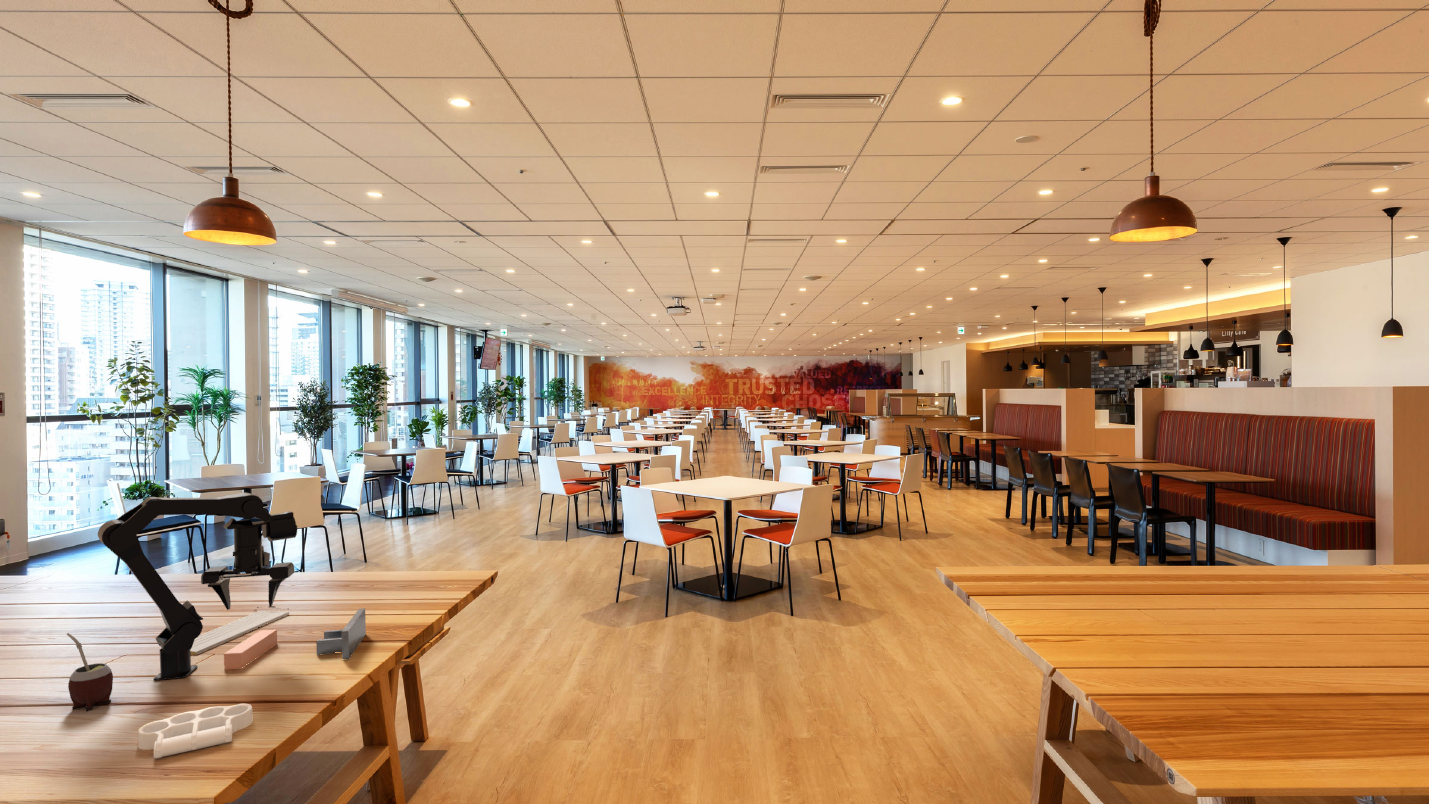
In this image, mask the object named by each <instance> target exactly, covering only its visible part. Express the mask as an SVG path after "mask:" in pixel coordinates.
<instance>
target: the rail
mask: <svg viewBox="0 0 1429 804" xmlns="http://www.w3.org/2000/svg"><path fill="white" fill-rule="evenodd" d="M277 630H278V629H261V630H258V631H257V632H256V633H254V634H252V635H251V636H249V637H248V638H245V639H244V640H243V641H241V642H240V643H237V644H236V645H235V646H234V647H232V648H230V649H229V650H228V651H225V652H224V653H223V667H224V670H237V669H236V668H242V667H244V666H245V667H246V664H248V663H249V664H251V663H252V662H254V661H255V660H256V659H258V658H259V657H261V656H262V655H264V654H265V653H266V652H268V651H270V650H271V649H272V648H274V647H275V646H277V645H278V631H277ZM270 648H271V649H270ZM264 652H265V653H264ZM260 655H261V656H260ZM257 657H258V658H257ZM255 658H256V659H255ZM253 660H254V661H253ZM251 661H252V662H251ZM250 662H251V663H250ZM249 664H248V665H249ZM245 667H244V668H245ZM242 669H243V668H242Z"/></svg>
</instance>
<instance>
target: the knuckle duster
mask: <svg viewBox="0 0 1429 804" xmlns="http://www.w3.org/2000/svg"><path fill="white" fill-rule="evenodd" d="M253 720H254V719H253V706H252V705H251V704H249V703H238V704H234V705H228V706H226V705H224V706H222V705H218V706H210V707H205V708H202V709H199V710H198V709H197V710H191V711H190V710H189V711H185V712H181V713H178V714H175V715H172V716H171V717H168V718H164V719H159V720H154V721H151V722H148V723H146V724H144V725H142V726H140V728H139V729H138V730H137V744H138V745H137V746H138V747H137V748H138V749H140V750H144V751H145V750H146V751H147V750H153V758H154V759H162V758H163V757H168V756H173V755H177V754H182V753H186V752H191V751H192V752H193V751H197V750H200V749H204V748H209V747H213V746H217V745H223V744H228V743H231V742H233V734H234V733H236V732H237V731H240V730H243V729H245V728H247V727H249V726H250V725H251V724H253V722H254V721H253Z"/></svg>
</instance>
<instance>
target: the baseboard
mask: <svg viewBox="0 0 1429 804" xmlns="http://www.w3.org/2000/svg"><path fill="white" fill-rule="evenodd" d="M256 608H257V609H261V608H262V607H259V606H256ZM268 608H271V609H276V610H262V609H261V610H258V611H257V609H253V612H252V613H251V614H247V615H246V616H244V617H242V618H241V617H240V618H239V619H235V620H234V621H231V622H229V623H226V624H224V625H221V626H219V627H216V628H213V629H212V630H209V631H207V632H204V633H200V635H199V636H198V637H197V638H196V639H195V640H194V643H193V646H192V648H191V649H190V653H191V656H197V655H199V654H203V653H205V652H207V651H209V650H211V649H213V648H216V647H218V646H220V645H222V644H225V643H227V642H230V641H231V640H234V639H236V638H238V637H241V636H243V634H244V635H246V634H248V633H250V631H251V632H253V631H255V630H257V629H259V628H258V627H260V628H262V627H264V626H266V625H265V624H267V623H269V624H271V623H273V621H274V622H276V621H278V620H280V619H282V617H283V618H285V617H287V616H289V615H290V612H289V611H290V609H289V608H287V610H289V611H282V610H280V611H277V609H280V608H276V606H275V605H272V606H269V605H268ZM277 619H278V620H277ZM275 620H276V621H275ZM270 622H271V623H270ZM267 625H268V624H267ZM261 626H262V627H261ZM252 630H253V631H252ZM245 633H246V634H245Z"/></svg>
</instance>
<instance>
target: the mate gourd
mask: <svg viewBox="0 0 1429 804" xmlns="http://www.w3.org/2000/svg"><path fill="white" fill-rule="evenodd" d="M66 635H67V636H68V638H70V639H71V640H72V641H73V642H74V643H75V647H76V648H77V650H78V652H79V655H80V657H81V660H82V663H83V666H81V667H78V668H76V669H74V671H73V672H72V673H71V675H70V677H69V681H68V692H69V696H70V700H71V702H72V704H73V706H71V709H72V710H78V709H84V708H85V712H90V711H92V710H93V709H94V707H96V706H100V705H106V704H110V703H111V702H112V699H110V698H111V695H112V691H113V685H114V684H113V683H114V682H113V681H114V674H113V671H112V669H111V668H110V667H109V665H107V664H106V663H102V662H100V663H91V664H88V662H87V661H88V660H87V659H86V655H85V653H84V650H83V645H82V643H81V642H80V641H79V640H78V639H77V638H76V637H75V636H73V635H72V634H71V633H70V632H68V633H67V632H66Z"/></svg>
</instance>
